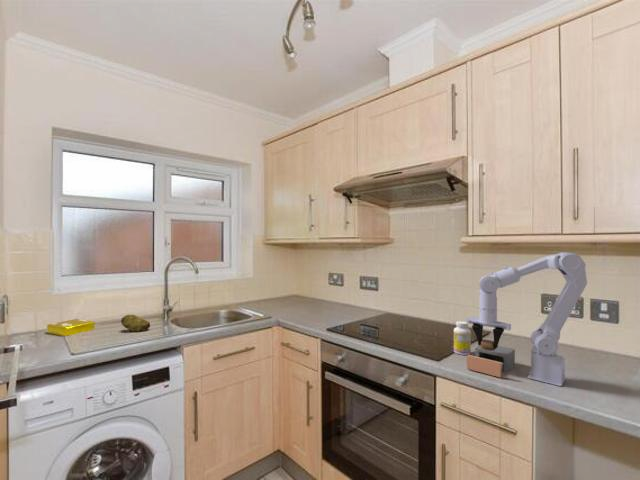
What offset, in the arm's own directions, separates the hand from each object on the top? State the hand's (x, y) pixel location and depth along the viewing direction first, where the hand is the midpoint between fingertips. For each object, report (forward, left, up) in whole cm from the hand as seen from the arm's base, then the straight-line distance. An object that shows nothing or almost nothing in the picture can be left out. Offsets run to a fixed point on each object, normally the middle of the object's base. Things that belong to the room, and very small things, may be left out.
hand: (487, 346), depth 120 cm
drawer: (0, 0, -8) cm, 8 cm away
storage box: (0, -8, -9) cm, 12 cm away
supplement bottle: (+14, -13, -9) cm, 21 cm away
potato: (+145, +73, -9) cm, 163 cm away
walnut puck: (0, 0, -1) cm, 1 cm away
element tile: (+166, +96, -9) cm, 192 cm away
